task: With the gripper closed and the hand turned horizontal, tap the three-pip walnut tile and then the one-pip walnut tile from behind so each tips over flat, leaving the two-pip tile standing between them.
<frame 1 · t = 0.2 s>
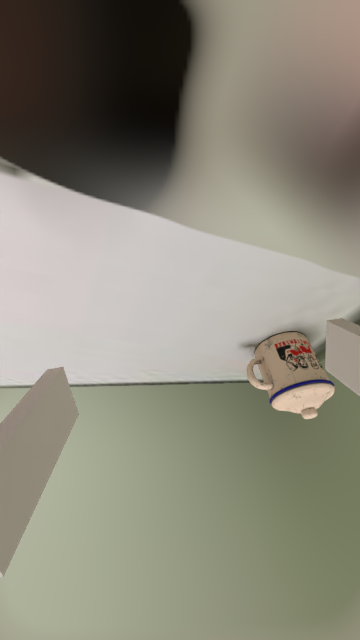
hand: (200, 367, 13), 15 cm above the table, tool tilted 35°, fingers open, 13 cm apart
teacup with lid: (271, 345, 42), on the table
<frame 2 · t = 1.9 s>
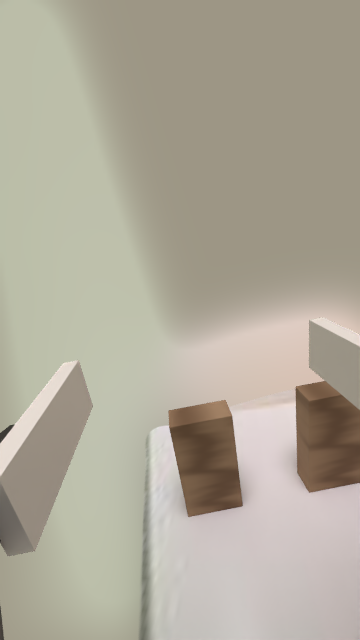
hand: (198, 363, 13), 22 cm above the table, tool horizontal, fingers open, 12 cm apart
tile 3: (213, 500, 29), on the table
tile 2: (328, 477, 29), on the table
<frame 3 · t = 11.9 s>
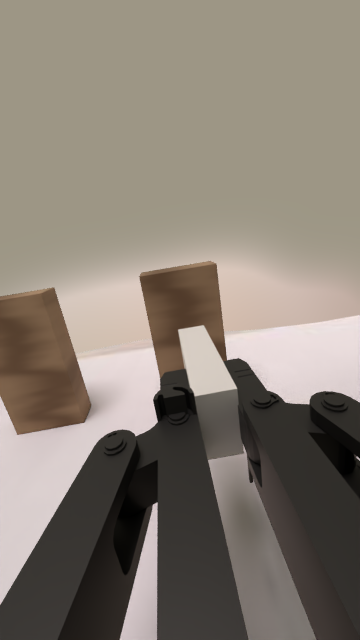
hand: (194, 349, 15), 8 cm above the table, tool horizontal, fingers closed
tile 1: (196, 393, 24), on the table
tile 2: (56, 419, 24), on the table
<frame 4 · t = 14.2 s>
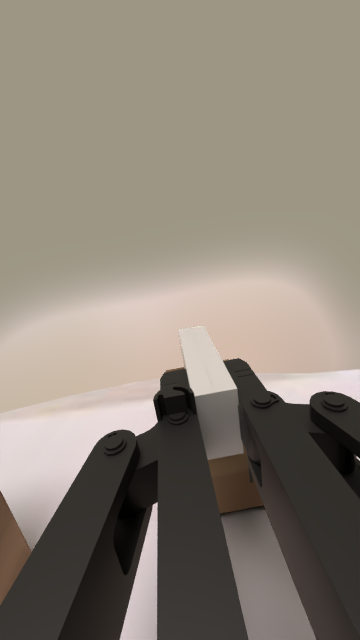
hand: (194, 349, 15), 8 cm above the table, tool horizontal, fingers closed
tile 1: (231, 492, 13), point 2 cm above the table, tilted 91°
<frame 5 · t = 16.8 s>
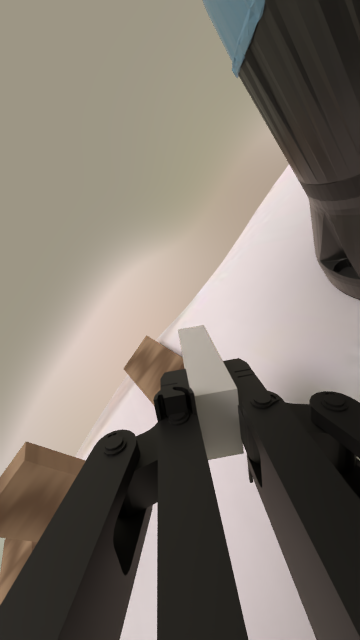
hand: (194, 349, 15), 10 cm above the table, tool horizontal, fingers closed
tile 1: (177, 387, 28), point 1 cm above the table, tilted 90°
tile 3: (22, 626, 24), point 1 cm above the table, tilted 90°
tile 2: (121, 511, 26), on the table
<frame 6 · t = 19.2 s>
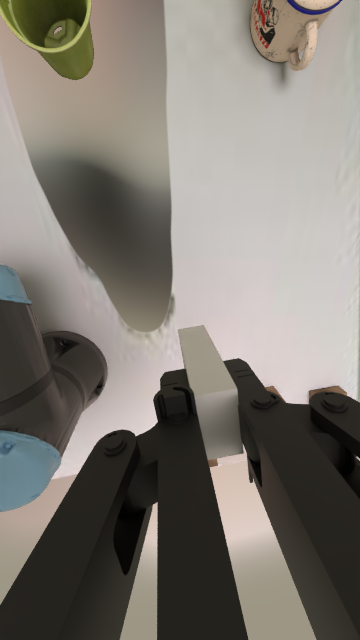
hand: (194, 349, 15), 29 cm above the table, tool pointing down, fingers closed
plant pot: (71, 53, 33), on the table
tile 3: (328, 391, 51), point 1 cm above the table, tilted 90°
teacup with lid: (280, 38, 34), on the table
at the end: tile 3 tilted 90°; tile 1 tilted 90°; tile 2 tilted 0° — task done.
